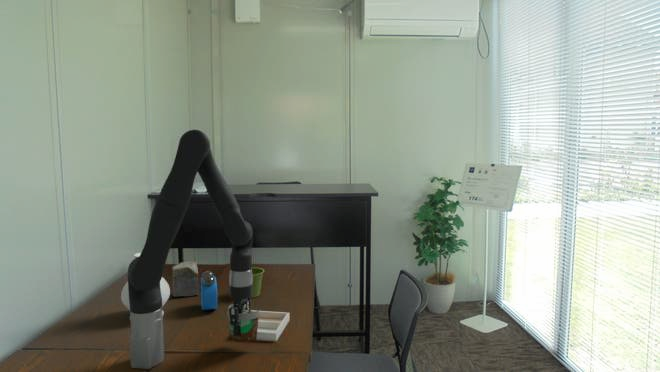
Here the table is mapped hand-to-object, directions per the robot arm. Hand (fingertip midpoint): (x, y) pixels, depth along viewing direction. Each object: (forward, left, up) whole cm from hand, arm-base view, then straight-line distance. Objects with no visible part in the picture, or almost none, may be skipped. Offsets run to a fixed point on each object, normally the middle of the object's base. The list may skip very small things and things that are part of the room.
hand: (240, 331), depth 144 cm
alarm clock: (+32, +26, -6) cm, 41 cm away
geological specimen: (+45, +43, -6) cm, 62 cm away
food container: (-1, 0, -2) cm, 3 cm away
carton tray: (+17, -2, -6) cm, 18 cm away
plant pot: (+50, +14, -6) cm, 52 cm away
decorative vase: (+21, +47, -6) cm, 52 cm away
